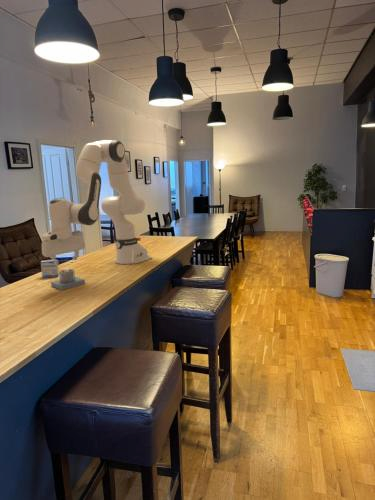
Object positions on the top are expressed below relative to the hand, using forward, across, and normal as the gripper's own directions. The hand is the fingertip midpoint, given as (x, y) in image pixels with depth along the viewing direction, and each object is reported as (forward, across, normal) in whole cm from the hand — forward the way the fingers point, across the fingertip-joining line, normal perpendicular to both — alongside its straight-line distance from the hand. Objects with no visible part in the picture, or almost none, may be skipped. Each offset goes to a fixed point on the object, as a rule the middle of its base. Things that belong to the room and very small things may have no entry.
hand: (66, 262), depth 166 cm
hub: (+9, +1, 0) cm, 9 cm away
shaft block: (+11, +1, +1) cm, 11 cm away
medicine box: (+12, -1, -21) cm, 24 cm away
